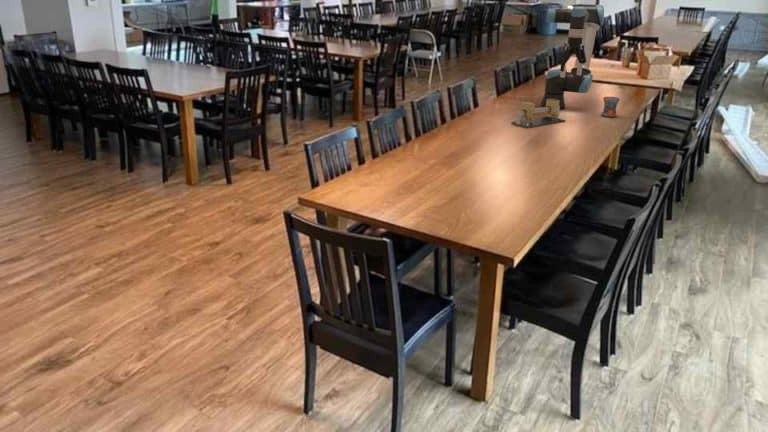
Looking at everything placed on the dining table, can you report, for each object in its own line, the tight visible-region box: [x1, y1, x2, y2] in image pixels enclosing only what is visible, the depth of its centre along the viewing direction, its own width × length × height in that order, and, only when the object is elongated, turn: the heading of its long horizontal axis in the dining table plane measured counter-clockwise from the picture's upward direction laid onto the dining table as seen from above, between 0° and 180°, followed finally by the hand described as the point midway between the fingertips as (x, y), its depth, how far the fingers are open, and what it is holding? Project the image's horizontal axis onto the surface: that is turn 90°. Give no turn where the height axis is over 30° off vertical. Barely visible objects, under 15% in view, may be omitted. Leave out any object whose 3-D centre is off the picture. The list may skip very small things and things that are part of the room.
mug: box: [601, 96, 621, 118], centre depth 358 cm, size 12×9×11 cm
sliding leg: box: [544, 98, 560, 119], centre depth 344 cm, size 7×4×10 cm, turn 32°
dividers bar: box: [515, 101, 560, 125], centre depth 339 cm, size 7×30×11 cm, turn 122°
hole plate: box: [510, 115, 567, 129], centre depth 341 cm, size 12×30×2 cm, turn 122°
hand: (570, 76), depth 339 cm, fingers open, 13 cm apart
